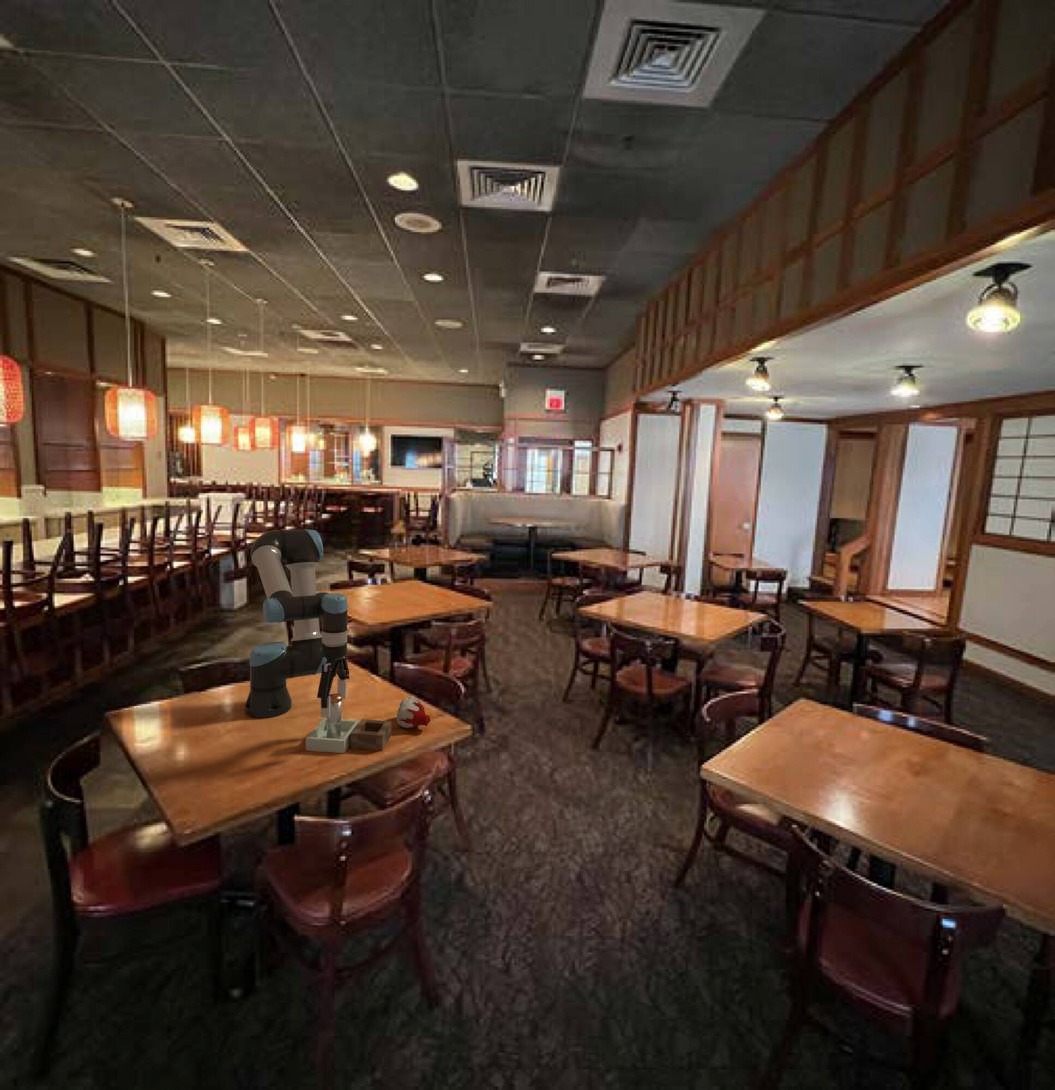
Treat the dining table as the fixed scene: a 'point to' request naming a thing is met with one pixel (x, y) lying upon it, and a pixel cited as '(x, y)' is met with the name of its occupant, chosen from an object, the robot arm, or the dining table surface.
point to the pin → (334, 717)
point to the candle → (412, 713)
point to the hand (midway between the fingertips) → (333, 707)
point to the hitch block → (371, 735)
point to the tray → (323, 744)
